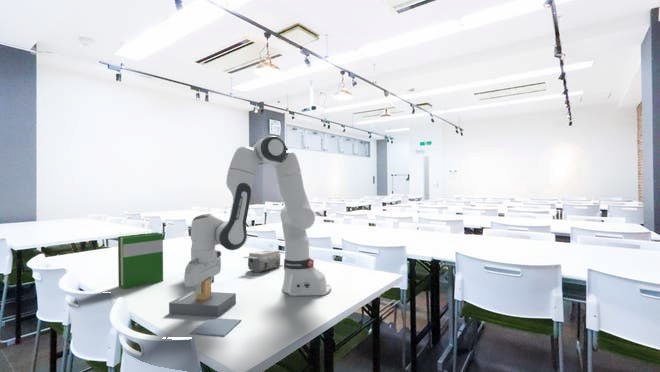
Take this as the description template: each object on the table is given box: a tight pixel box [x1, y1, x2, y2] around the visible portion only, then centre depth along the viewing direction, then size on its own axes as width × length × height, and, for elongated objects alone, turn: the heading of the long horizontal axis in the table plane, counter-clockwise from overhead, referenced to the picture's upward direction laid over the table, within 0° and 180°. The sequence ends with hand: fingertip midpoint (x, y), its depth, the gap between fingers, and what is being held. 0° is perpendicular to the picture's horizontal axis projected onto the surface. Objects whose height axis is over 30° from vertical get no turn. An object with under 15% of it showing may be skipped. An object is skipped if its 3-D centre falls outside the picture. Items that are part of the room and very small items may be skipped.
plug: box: [195, 276, 212, 300], centre depth 128 cm, size 4×4×12 cm
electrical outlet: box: [242, 249, 285, 273], centre depth 188 cm, size 12×28×10 cm, turn 155°
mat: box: [189, 317, 242, 337], centre depth 110 cm, size 12×12×1 cm
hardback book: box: [117, 232, 164, 290], centre depth 161 cm, size 18×7×24 cm, turn 139°
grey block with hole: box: [168, 290, 237, 318], centre depth 128 cm, size 20×14×4 cm
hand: (203, 291), depth 128 cm, fingers closed on plug, 4 cm apart
